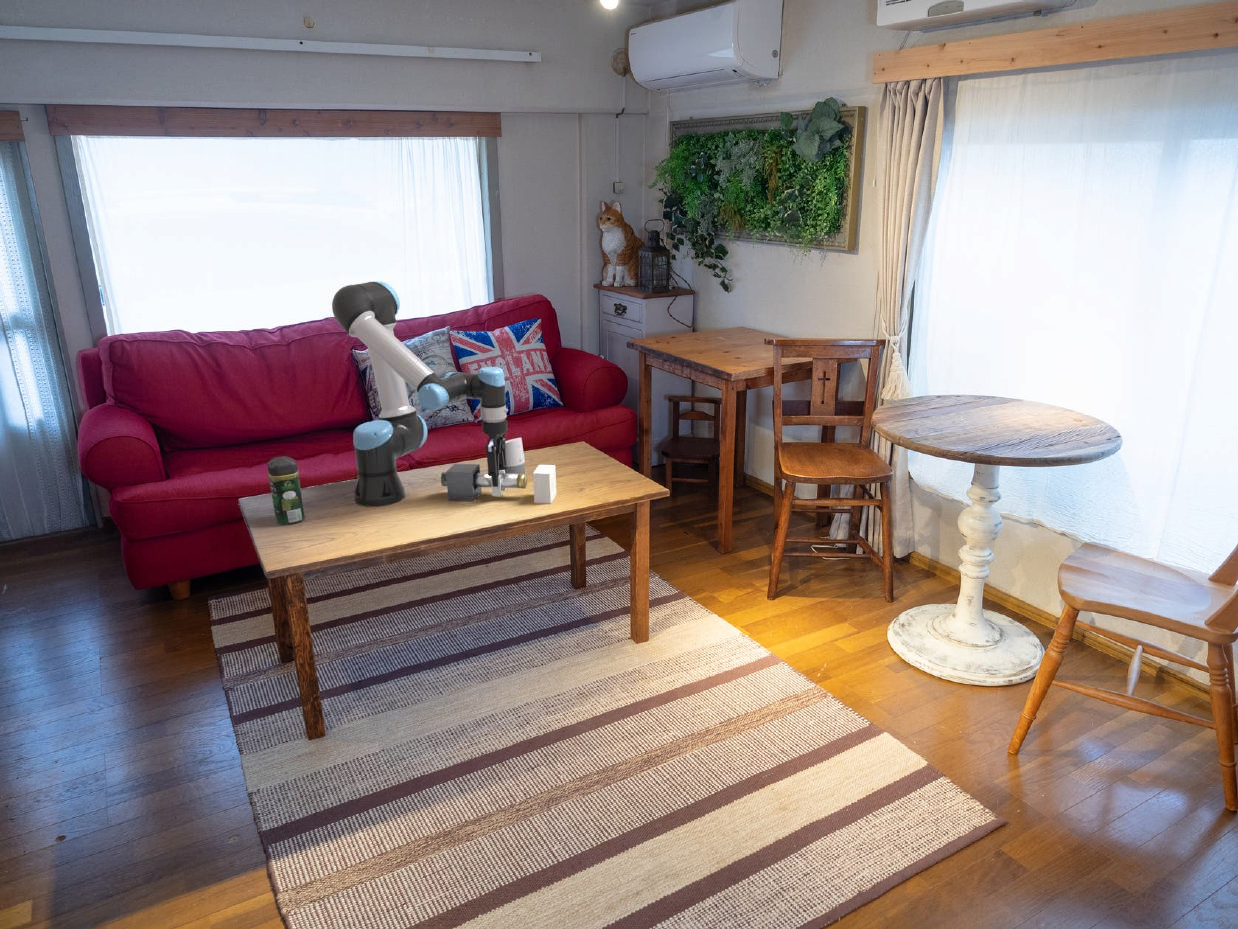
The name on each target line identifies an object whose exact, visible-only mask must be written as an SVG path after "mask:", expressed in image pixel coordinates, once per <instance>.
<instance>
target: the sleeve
mask: <svg viewBox="0 0 1238 929" xmlns="http://www.w3.org/2000/svg"><path fill="white" fill-rule="evenodd" d="M480 466H481V465H480V464H479V463H478V464H475V463H474V464H473V463H454V464H452V466H450V467H449V468H448V469H447V470H446V471H445V472H446V478H447V486H446V488H447V500H448V502H450V501H452V502H453V501H455V502H475V500H476V499H477V498H478V497H479V496H480V495H481V494H482V487H474V482H473V474H474V473H481V467H480Z"/></svg>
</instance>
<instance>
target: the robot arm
mask: <svg viewBox="0 0 1238 929" xmlns="http://www.w3.org/2000/svg"><path fill="white" fill-rule="evenodd" d="M400 305H401V303H400V297H399V295H398V293H397V292H396V290H395V289H394V288H393V287H392V286H391V285H389V284H388V283H387V282H383V281H369V282H363V283H357V284H356V283H355V284H349V285H345V286H343V287H341V288H340V289H338V290H337V292H335V294H334V296H333V299H332V301H331V309H332V314H333V317H334V319H335V321H336V322H337V323H338V325H339V326H340V328H342V329H343V330H344V332H345V333H347V334H348V335H349V336H350V337H351V338H358V340H360V341H361V342H362V343H363V344H364V345H365V347H367V350H368V355H369V359H370V362H371V367H372V373H373V376H374V380H375V385H376V388H377V393H378V397H379V398H378V399H379V403H380V407H381V411H380V413H379V415H378V420H376V419H375V420H371V421H367V422H364V423H362V424H359V425H358V426H356V427H355V429H354V431H353V433H352V434H353V435H352V437H353V440H352V441H353V442H352V443H353V447H354V455H355V464H356V472H357V479H356V483H355V488H354V493H353V496H354V502H355V503H356V504H357V505H360V506H365V507H380V506H387V505H388V506H389V505H392V504H395V503H398V502H400V501H402V500H404V498H405V497H406V491H405V486H404V484H403V482H402V481H401V478H400V476H399V474H398V470H397V462H396V461H397V460H398V459H400V458H402V457H403V456H405V455H408V454H411V453H413V452H415V451H417V450H418V449H420V448H422V446H423V445H424V444H425V443H426V441H427V438H428V426H427V423H426V420H424V418H422V416H421V415H419V414H418V413H417V409H416V408H415V407H414V406H412V405H411V404H410V401H409V397H408V392H407V388H406V383H407V384H408V385H409V386H410V387H412V389H413V390H414V391H415V392H416V393H417V399H418V401H419V404H420V405H421V406H422V408H423V409H425V410H428V411H437V410H440V409H443V408H445V407H446V406H449V405H452V404H455V403H457V402H459V401H463V400H465V399H470V400H479V402H480V418H481V420H482V421H481V429H482V430H481V431H482V433H483V434H485V435H487V436H488V439H487V444H486V445H485V451H486V462H487V473H488V476H491V485H492V487H491V496H492V497H503V496H502V491H507V488H501V479H500V475H499V473H505V470H504V469H507V466H506V465H507V463H506V446H505V441H506V437H507V436H506V434H505V433H507V432H508V430H509V429H508V420H507V419H506V418H507V417H508V415H507V413H508V412H509V409H508V408H507V403H506V402H507V401H506V381H505V373H504V370H503V369H502V368H501V367H499V366H498V367H497V366H486V367H481V368H480V369H479V370H478V372H477V373H467V372H460V371H455V372H448V373H446V374H444V376H443V377H442V378H441V377H440V376H439V375H438V374H437V373H436V372H434V370H432V369H431V368H430V367H429V366H427V364H425V363H424V361H423V360H421V359H420V358H419V357H418V356H417V355H416V354H415V353H414V352H412V351H411V349H409V348H408V347H407V346H406V345H405V344H403V343H402V342H401V340H400V339H399V338H397V337H396V336H395V334H394V328H395V327H396V325H397V319H396V315H397V314H398V313H399V310H400V307H401V306H400ZM405 382H406V383H405Z"/></svg>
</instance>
